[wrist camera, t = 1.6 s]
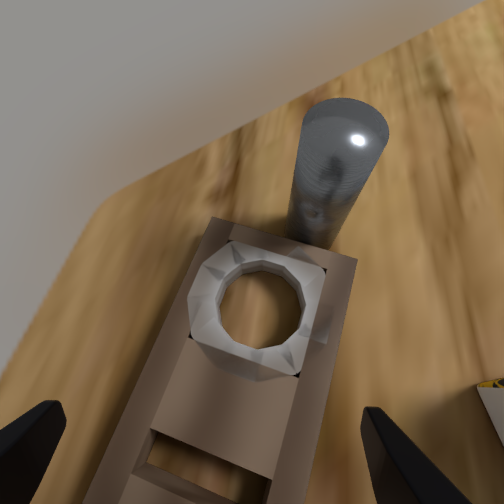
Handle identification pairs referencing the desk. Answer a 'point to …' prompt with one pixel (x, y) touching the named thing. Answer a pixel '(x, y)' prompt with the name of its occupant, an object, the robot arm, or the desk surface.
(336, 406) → the desk surface
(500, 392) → the medicine bottle
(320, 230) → the steel peg
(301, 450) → the bore block
